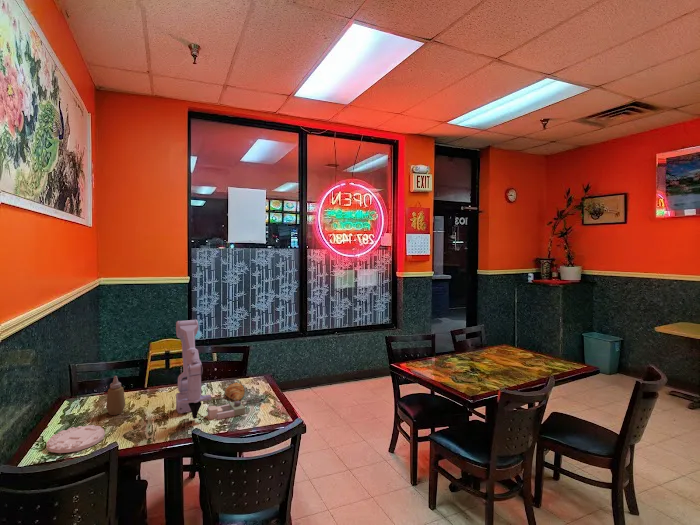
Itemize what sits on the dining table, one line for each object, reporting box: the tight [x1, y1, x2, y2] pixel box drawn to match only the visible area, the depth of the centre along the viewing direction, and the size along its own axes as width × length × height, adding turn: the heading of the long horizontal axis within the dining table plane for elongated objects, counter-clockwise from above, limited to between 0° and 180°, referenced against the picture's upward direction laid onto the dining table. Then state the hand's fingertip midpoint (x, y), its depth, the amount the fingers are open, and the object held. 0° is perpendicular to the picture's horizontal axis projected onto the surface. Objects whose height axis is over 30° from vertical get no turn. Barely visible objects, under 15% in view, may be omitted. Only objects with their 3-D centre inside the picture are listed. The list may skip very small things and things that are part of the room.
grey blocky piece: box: [216, 400, 246, 420], centre depth 196 cm, size 13×10×5 cm
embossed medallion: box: [46, 424, 106, 454], centre depth 166 cm, size 20×20×3 cm
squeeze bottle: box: [105, 375, 126, 416], centre depth 194 cm, size 8×8×18 cm
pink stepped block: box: [207, 405, 224, 420], centre depth 193 cm, size 6×5×4 cm
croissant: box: [224, 382, 246, 402], centre depth 218 cm, size 21×10×8 cm, turn 23°
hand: (194, 417), depth 188 cm, fingers closed
